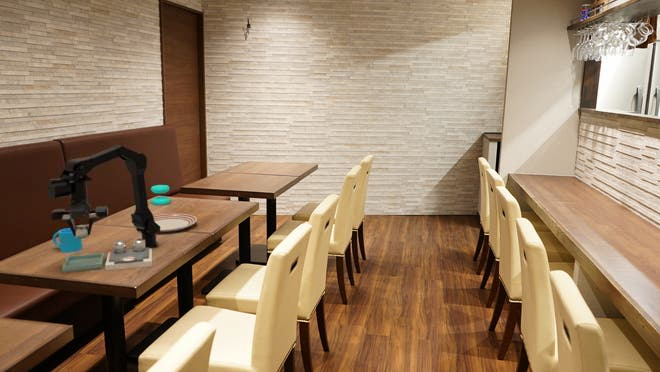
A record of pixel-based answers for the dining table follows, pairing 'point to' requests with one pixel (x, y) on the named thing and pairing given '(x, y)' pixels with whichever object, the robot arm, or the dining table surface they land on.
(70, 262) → the tray
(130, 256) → the scale
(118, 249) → the cylinder
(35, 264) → the dining table surface
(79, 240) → the mug
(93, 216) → the robot arm
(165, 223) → the dinner plate
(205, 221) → the dining table surface
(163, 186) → the donuts
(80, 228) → the cylinder
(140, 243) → the cylinder
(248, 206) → the dining table surface
